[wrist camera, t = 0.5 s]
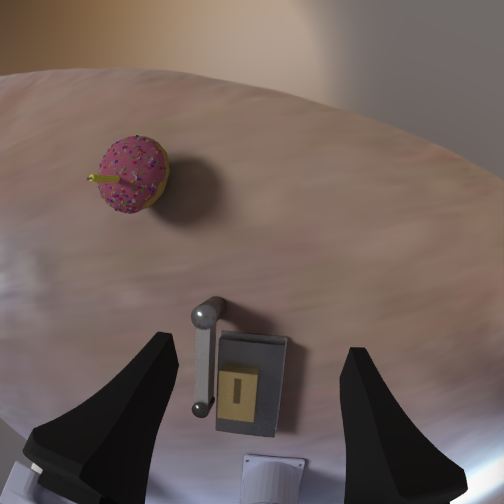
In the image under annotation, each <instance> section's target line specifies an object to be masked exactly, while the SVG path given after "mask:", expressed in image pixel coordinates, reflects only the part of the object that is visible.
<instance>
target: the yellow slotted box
mask: <svg viewBox="0 0 504 504" xmlns="http://www.w3.org/2000/svg"><path fill="white" fill-rule="evenodd" d="M258 376H259V369H250V368H241V367H232V366H224V365H222V367H221V369H220V370H219V391H218V418H223V419H230V420H238V421H246V422H254V418H255V410H256V399H257V388H258Z"/></svg>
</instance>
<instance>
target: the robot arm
mask: <svg viewBox="0 0 504 504" xmlns="http://www.w3.org/2000/svg"><path fill="white" fill-rule="evenodd" d="M178 367H179V363H178V359H177V354H176V350H175V345H174V341H173V336H172V334H171V333H164V332H157V333H156V334H155V335H154V336H153V337H152V339H151V340H150V341H149V342H148V343H147V344H146V345H145V346H144V348H143V349H142V350H141V351H140V352H139V353H138V354H137V355H136V356H135V357H134V358H133V359H132V361H131V362H130V363H129V364H128V365H127V366H126V367H125V368H124V369H123V370H122V371H121V372H120V373H119V374H117V375H116V376H115V377H114V378H113V379H112V380H111V381H110V382H109V383H108V384H107V385H105V386H104V387H103V388H102V389H101V390H99V391H98V392H97V393H96V394H94V395H93V396H92V397H90V398H89V399H87V400H86V401H85V402H83V403H82V404H80V405H79V406H77V407H76V408H74V409H72V410H71V411H69V412H67V413H65V414H64V415H62V416H60V417H58V418H56V419H54V420H52V421H50V422H48V423H45V424H43V425H41V426H38V427H36V428H34V429H33V430H32V432H31V434H30V436H29V438H28V440H27V442H26V444H25V447H24V449H23V454H24V455H25V456H26V457H27V458H29V459H30V460H31V461H32V462H33V463H35V464H36V465H37V466H38V467H40V468H41V469H42V473H41V474H39V473H38V472H36V471H34V470H33V469H31V468H29V467H27V466H26V465H24V464H22V463H21V462H19V461H16V462H15V464H14V466H13V468H12V471H11V473H10V475H9V478H8V480H7V482H6V485H5V487H4V489H3V492H2V494H1V497H0V503H1V504H145V496H146V488H147V481H148V475H149V469H150V463H151V458H152V453H153V449H154V444H155V440H156V436H157V432H158V429H159V426H160V423H161V421H162V418H163V415H164V412H165V410H166V407H167V404H168V402H169V399H170V396H171V393H172V391H173V388H174V384H175V380H176V376H177V371H178ZM340 404H341V411H342V419H343V427H344V435H345V443H346V483H345V498H344V504H450V501H452V500H454V499H456V498H457V497H459V496H461V495H462V494H464V493H465V492H466V491H467V490H468V486H467V480H466V475H465V472H464V469H462V468H461V467H460V466H458V465H457V464H455V463H454V462H453V461H451V460H450V459H449V458H447V457H446V456H445V455H444V454H443V453H442V452H440V451H439V450H438V449H437V448H436V447H435V446H434V445H433V444H432V443H431V442H430V441H429V440H428V439H427V438H426V437H425V436H424V435H423V434H422V433H421V432H420V431H419V429H418V428H417V427H416V426H415V425H414V424H413V422H412V421H411V420H410V419H409V418H408V416H407V415H406V414H405V412H404V411H403V410H402V408H401V407H400V405H399V404H398V402H397V401H396V400H395V398H394V396H393V395H392V393H391V392H390V390H389V389H388V387H387V385H386V384H385V382H384V381H383V379H382V377H381V375H380V374H379V372H378V370H377V368H376V367H375V365H374V363H373V361H372V359H371V357H370V356H369V354H368V352H367V350H366V349H365V348H361V347H350V350H349V353H348V356H347V359H346V361H345V364H344V367H343V370H342V373H341V375H340ZM247 460H249V461H247ZM299 464H302V465H299ZM304 465H305V460H304V459H298V458H281V457H269V456H258V455H249V454H247V455H245V457H244V466H243V477H242V489H241V498H240V502H239V504H298V491H299V487H300V482H301V478H302V474H303V469H304Z"/></svg>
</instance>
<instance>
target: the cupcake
mask: <svg viewBox="0 0 504 504" xmlns="http://www.w3.org/2000/svg"><path fill="white" fill-rule="evenodd" d="M99 166H100V168H99V171H98V175H96V174H91V175H90V176H89V177H87V178H85V180H90V181H92V182H98V188H99V190H100V193H101V196H102V198H103V199H104V200H105V201H106V203H107V204H108V205H110V206H111V207H113V208H114V209H115V210H116V211H117V210H118V211H120V212H124V213H128V214H131V213H136V212H139V211H140V210H142V209H145V208H147V207H150V206H151V205H153V204H154V203H155V201H156V200H157V199H158V198H159V197H160V196H161V195H162V194H163V192H164V189H165V187H166V184H167V180H168V177H169V174H170V167H169V162H168V156H167V153H166V151H165V150H164V149H163V148H162V147H161V145H160V144H159V143H158V142H157V141H155V140H153V139H151V138H148V137H144V136H138V135H136V136H131V137H127V138H124V139H122V140H120V141H118V142H116V143H114V144H113V145H112V146H111V148H110V149H108V152H106V153H105V155H104V158H103V160H102V163H101V164H99Z"/></svg>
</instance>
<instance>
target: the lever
mask: <svg viewBox="0 0 504 504" xmlns="http://www.w3.org/2000/svg"><path fill="white" fill-rule="evenodd" d="M226 309H227V306H226V303H225V301H224V300H223V299H222V298H220V297H217V296H214V297H211V298H209V299H208V300H206V301H205V302H203V303H202V304H200V305H199V306H197V307H196V308H194V310H193V311H192V313H191V320H192V323H193V324H194V326H195V327H196V348H195V404H194V405H193V407H192V412H193V414H194V415H195V416H196V417H199V418H205V417H206V416H207V415H208V414H209V412H210V410H211V408H212V406H213V404H214V401H215V398H214V368H215V345H216V323H217V321H218V320H219V319H220V318H221V317H222V316H223V315H224V314H225V312H226Z"/></svg>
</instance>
